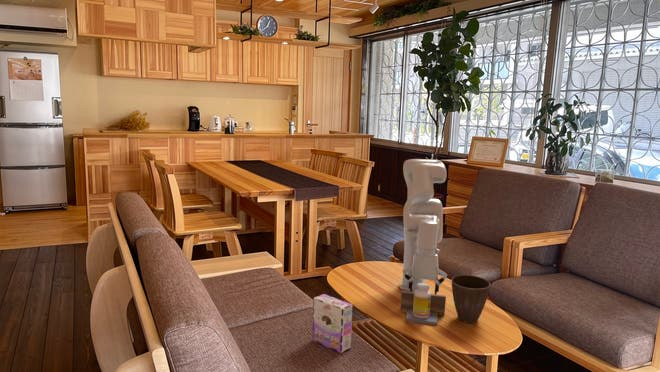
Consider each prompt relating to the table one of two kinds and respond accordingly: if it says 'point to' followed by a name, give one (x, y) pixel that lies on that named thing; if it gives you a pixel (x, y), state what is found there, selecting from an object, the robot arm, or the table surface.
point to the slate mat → (430, 320)
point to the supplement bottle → (422, 301)
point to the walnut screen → (435, 305)
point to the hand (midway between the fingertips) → (423, 291)
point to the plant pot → (469, 296)
